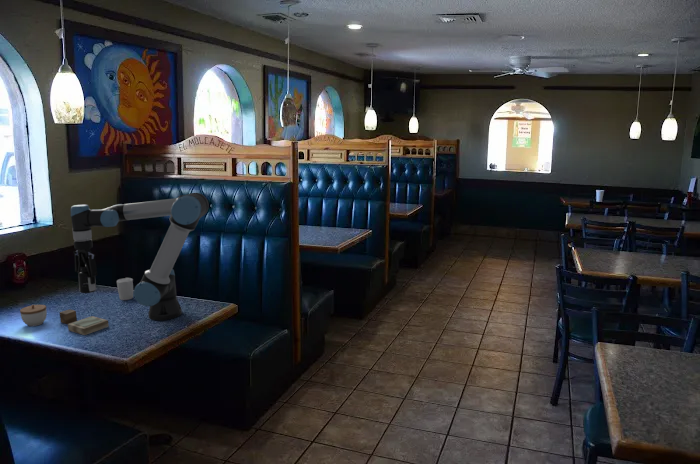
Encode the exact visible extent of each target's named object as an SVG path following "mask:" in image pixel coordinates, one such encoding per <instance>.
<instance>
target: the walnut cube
mask: <svg viewBox="0 0 700 464" xmlns="http://www.w3.org/2000/svg"><path fill="white" fill-rule="evenodd" d="M59 320H60V323H61V324H65V325H68V324H70V323H73V322H76V321H78V319H77V310H74V309H70V308H69V309H67V310H63V311H60V312H59Z"/></svg>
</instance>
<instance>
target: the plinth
mask: <svg viewBox="0 0 700 464" xmlns="http://www.w3.org/2000/svg"><path fill="white" fill-rule="evenodd" d="M67 327H68V328H67V329H68V331H69V332H72V333H75V334H79V335H82V336H86V335H90V334H91V333H95V332H97V331H98V332H99V331H100V330H103V329H106V328H108V327H110V325H109V320H108V319H105V318H100V317H96V316H94V315H91V316H88V317H84V318H82V319H79V320H77V321H75V322H72V323H69V324H67Z"/></svg>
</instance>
